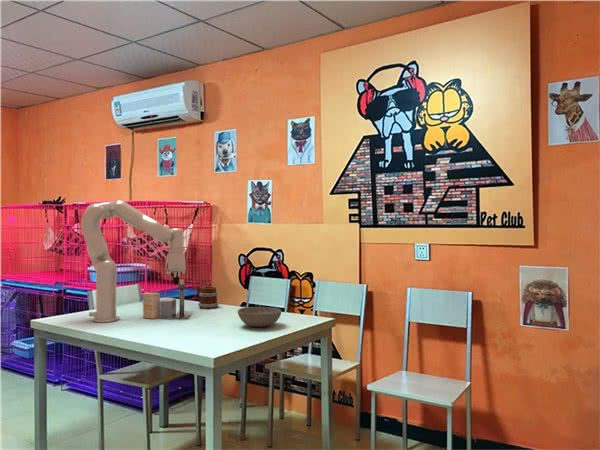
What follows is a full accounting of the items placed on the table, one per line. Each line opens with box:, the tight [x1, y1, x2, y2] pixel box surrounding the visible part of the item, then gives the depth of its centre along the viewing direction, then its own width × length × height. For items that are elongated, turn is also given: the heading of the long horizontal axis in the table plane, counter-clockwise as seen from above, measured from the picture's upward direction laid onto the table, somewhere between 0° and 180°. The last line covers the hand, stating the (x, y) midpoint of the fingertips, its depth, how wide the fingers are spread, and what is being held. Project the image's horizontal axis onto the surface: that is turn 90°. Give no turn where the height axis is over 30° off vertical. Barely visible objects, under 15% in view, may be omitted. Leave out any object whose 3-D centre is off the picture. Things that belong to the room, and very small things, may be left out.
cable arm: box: [177, 279, 186, 289], centre depth 261 cm, size 20×4×2 cm, turn 15°
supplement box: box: [142, 291, 161, 320], centre depth 254 cm, size 8×5×13 cm, turn 58°
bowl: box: [237, 306, 283, 328], centre depth 233 cm, size 21×21×8 cm
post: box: [171, 288, 192, 320], centre depth 253 cm, size 8×8×16 cm
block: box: [159, 298, 177, 320], centre depth 254 cm, size 6×8×9 cm
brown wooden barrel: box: [196, 284, 219, 310], centre depth 284 cm, size 12×14×15 cm
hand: (176, 284), depth 264 cm, fingers closed
